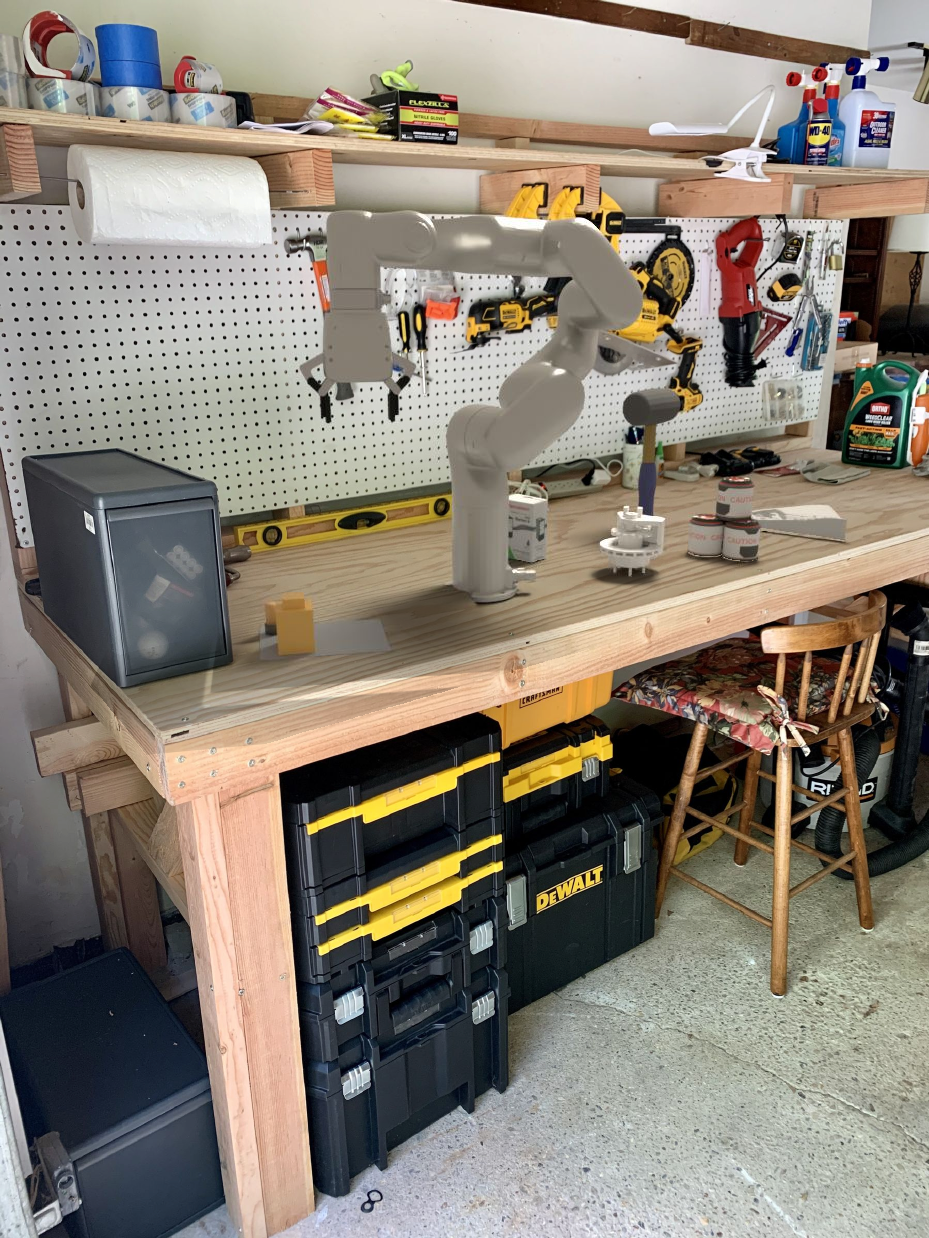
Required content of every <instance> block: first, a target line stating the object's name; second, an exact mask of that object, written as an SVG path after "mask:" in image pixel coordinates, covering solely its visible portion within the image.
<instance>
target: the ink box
mask: <svg viewBox="0 0 929 1238" xmlns="http://www.w3.org/2000/svg"><path fill="white" fill-rule="evenodd" d="M548 506H549V501H548V500H547V498H541V497H537V496H531V495H527V494H526V495H525V494H521V493H514V494H509V532H508V559H510V558H512V559H511V560H514V559H517V560H516V561H518V560H522V561H521V562H523V561H527V562H535V561H537V560H540V559H543V558H545V557H546V558H547V541H548V538H547V537H548V512H549V511H548V509H549V507H548ZM527 562H526V563H527ZM535 563H536V562H535Z"/></svg>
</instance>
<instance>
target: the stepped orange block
mask: <svg viewBox="0 0 929 1238" xmlns="http://www.w3.org/2000/svg"><path fill="white" fill-rule="evenodd" d="M304 593H305V592H304V591H303V592H287V593H284V592H283V593H281V600H279V601H277V600H276V601H274V602H275V611H276V626H277V640H278V654H279V655H287V654H301V653H315V639H314V624H315V623H314V622H315V621H314V612H313V611H314V610H313V609H314V608H313V603H312V599H309V598H308V599H305V594H304Z"/></svg>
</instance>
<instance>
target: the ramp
mask: <svg viewBox="0 0 929 1238" xmlns="http://www.w3.org/2000/svg"><path fill="white" fill-rule="evenodd" d="M751 518H752V519H756V520H757V521H758V523H759V524H760V525H761V528H766V529H773V530H779V531H785V532H793V533H802V534H809V535H816V536H822V537H829V538H833V539H840V540H846V531H847V521H848V519H846V518H842V517H840V515H839V514H838V513H837V512H836V511H835V510H834V509H833V508H832V507H831V506H830V505H828V504H808V505H807V504H806V505H804V504H803V505H797V506H796V505H795V506H787V507H785V506H784V507H776V508H775V507H774V508H763V509H755V510H752V516H751Z"/></svg>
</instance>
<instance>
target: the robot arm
mask: <svg viewBox="0 0 929 1238" xmlns="http://www.w3.org/2000/svg"><path fill="white" fill-rule="evenodd" d="M325 224H326V226H325V227H326V228H325V230H326V250H327V251H326V253H327V268H328V269H327V271H328V273H327V274H328V291H329V311H330V312H325V313H324V318H323V327H322V352H321V353H320V354H318V355H316V356H314V357H312V358H310V359H308V360H306V361H305V362H303V363H302V364H300V365H299V371H300V372H301V374H302V376H303V378H304V380H305V381H306V383H307V385H309V387H311V388H312V389H313V390H314V391H315V392H316V393H317V394H318V395H319V405H320V406H319V407H320V417H321V418H324V419H325V423H326V424H331V423H332V410H331V408H332V406H331V396H330V395H329V391H330V390H331V388H332V387H333V386H334V384H336V383H337V384H345V383H346V384H348V383H350V384H351V383H356V384H357V383H382V382H383V384H384V385H386V387H387V388H388V389H389V390H388V393H387V418H388V419H387V420H389V421H390V422H396V416H399V415H400V405H399V404H400V402H399V401H400V400H399V398H400V397H399V395H400V393H402V391H403V390H404V389H405V388H406V387H407V385H408V384H409V383H410V382H411V379H412V376H413V374H414V373H415V370H416V368H417V365H416V364H417V363H415V362H414V361H411V360H409V359H407V358H405V357H403V356H401V355H399V354H397V353H395V352H394V351H392V340H391V339H392V338H391V333H390V331H391V330H390V325H389V320H388V315H387V312H383V311H382V309H383V307H384V305H391V304H392V295H391V293H390V294H386V293H385V292H383V290H382V282H381V281H382V280H381V276H382V275H381V273H382V272H381V268H385V269H403V270H405V269H406V270H422V271H423V270H424V271H425V270H426V271H441V272H442V271H443V272H453V273H461V274H469V275H490V276H491V275H494V276H515V277H530V278H564V277H565V278H566V277H567V278H568V277H569V278H570V277H571V278H572V280H570V281H568V283H566V284H565V286H564V287H563V288H562V290H561V292H560V294H559V297H558V303H557V323H556V328H555V332H554V334H553V335H552V336H551V337H552V338H551V339H550V340H549V341H548V342H547V343H546V344H545V345H544V346H543V347H542V348H541V349H540V350H538V351H537V352H536V353H535V354H533V355H532V356H531V357H529V359H527V360H526V361H525V362H524V363H523V364H521V365H520V366H519V367H518V368H516V369H515V370H514V371H513V372H511V373H510V374H509V375H508V376H507V377H506V379H505V380H504V381H503V383H502V384H501V387H500V389H499V392H498V403H499V406H500V407H498V406H493V405H488V404H482V403H474V404H473V403H472V404H468V405H465V406H463V407H461V408H459V409H458V410H456V412H455V413H454V414H453V415H452V416H451V418H450V420H449V422H448V424H447V427H446V434H445V435H446V438H445V440H446V450H447V455H448V461H449V468H450V469H449V470H450V475H451V476H450V478H451V549H452V550H451V557H452V558H451V560H452V561H451V565H452V566H451V567H452V570H451V571H452V575H451V576H452V579H450V580H448V581H447V582H445V583H444V586H447V585H448V586H450V585H452V587H453V588H454V589H457V590H458V591H461V592H466V593H467V594H469V596H470V598H471V599H472V600H473V602H474V603H492V602H493V603H494V602H500V601H501V602H502V601H504V600H508V599H511V598H513V597H514V596H515V595H516V594H517V592H518V585H517V584H518V582H535V581H536V578H537V574H536V570H535V569H525V567H516V568H513V567H511V566H510V564H509V558H508V532H509V496H510V489H509V488H510V487H509V478H508V473H510V472H514V471H518V470H520V469H522V468H524V467H526V466H527V465H529V464H530V463H531V462H533V461H534V460H535V459H536V458H538V457H539V455H541V454H542V453H543V452H544V451H546V449H548V448H549V447H550V446H552V445H553V444H554V443H555V442H556V441H557V440H558V439H560V438H561V437H562V436H563V435H564V434H565V433H566V432H567V431H569V429H571V427H573V426H574V424H575V423H576V422H577V420H578V419H579V418H580V415H581V414H582V412H583V408H584V405H585V399H586V392H585V387H584V385H583V382H582V381H583V380H585V378H587V376H588V375H589V374H590V372H592V370H593V369H594V366H595V363H596V358H597V355H598V345H599V344H598V343H599V331H622V330H625V329H628V328H629V327H631V326H632V325H634V323H636V321H638V319H639V318H640V316H641V313H642V312H643V311H642V310H643V306H644V297H643V296H644V295H643V291H642V288H641V286H640V284H639V281H638V280H637V278H636V277H635V275H634V274H633V273H632V271H631V269H630V268H629V267H628V266H627V264H626V263H625V262H624V260H623V259H622V258H621V256H620V255H619V253H618V251H617V250H616V249H615V247H614V246H613V245H612V244H611V243H610V241H609V240H608V238H607V237H606V236H605V235H604V234H603V233H602V231H601V230H600V229H598V228H597V226H595V225H594V224H593V222H591V221H589V220H588V219H586V218H583V217H569V218H563V219H539V218H537V219H535V218H526V217H525V218H524V217H512V216H502V215H492V214H487V215H486V214H480V215H479V214H478V215H477V214H476V215H468V216H462V217H453V218H451V217H450V218H428V217H427V216H426V215H425V214H423V213H421V212H419V211H415V210H410V209H409V210H408V209H405V210H398V211H390V212H371V211H369V210H360V209H359V210H356V209H355V210H353V209H352V210H351V209H346V210H336V211H332V212H330V214H328V215H327V218H326V222H325ZM394 363H395V364H397V365H399V366H401V367H403V373H402V375H401V376H400V377H399V378H398V379H397V381H395V380H394V379H393V371H394V368H393V367H394V365H393V364H394ZM320 365H323V369H322V370H323V374H324V377H325V378H324V380H323V381H322V382H321V383H320V382H318V380H317V379H316V378H315V377H314V376H313V373H312V370H313V369H315V368H316V367H318V366H320Z"/></svg>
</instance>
